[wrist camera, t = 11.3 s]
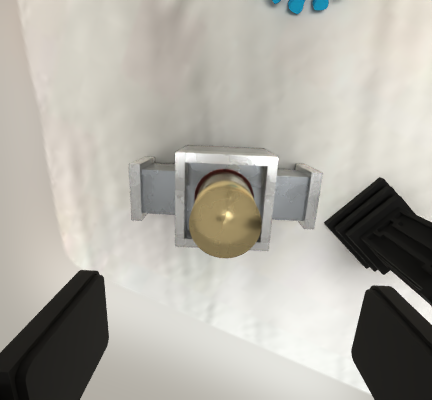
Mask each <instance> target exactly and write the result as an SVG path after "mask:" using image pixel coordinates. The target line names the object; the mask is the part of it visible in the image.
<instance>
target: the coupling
mask: <svg viewBox="0 0 432 400" xmlns="http://www.w3.org/2000/svg"><path fill="white" fill-rule="evenodd" d="M261 228H262V220H261V215H260V212H259V210H258V208H257V205H256V203H255V201H254V198H253V196H252V194H251V191H250V189H249V187H248V185H247V183H246V182H245V181H244V180H243V179H242V178H241V177H240V176H238V175H236V174H234V173H231V172H218V173H215V174H212V175H211V176H209V177H208V178H206V179H205V180H204V181H203V183H202V184H201V186H200V188H199V191H198V194H197V197H196V200H195V203H194V206H193V208H192V211H191V214H190V218H189V230H190V234H191V237H192V239H193V241H194V242H195V244H196V245H197V246H198V247H199V248H200V249H201V250H202V251H204V252H205V253H207V254H209V255H211V256H214V257H218V258H233V257H237V256H239V255H242V254H244V253H245V252H247V251H248V250H250V249H251V248H252V247H253V246H254V244H255V243H256V242H257V240H258V238H259V236H260V233H261Z"/></svg>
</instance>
